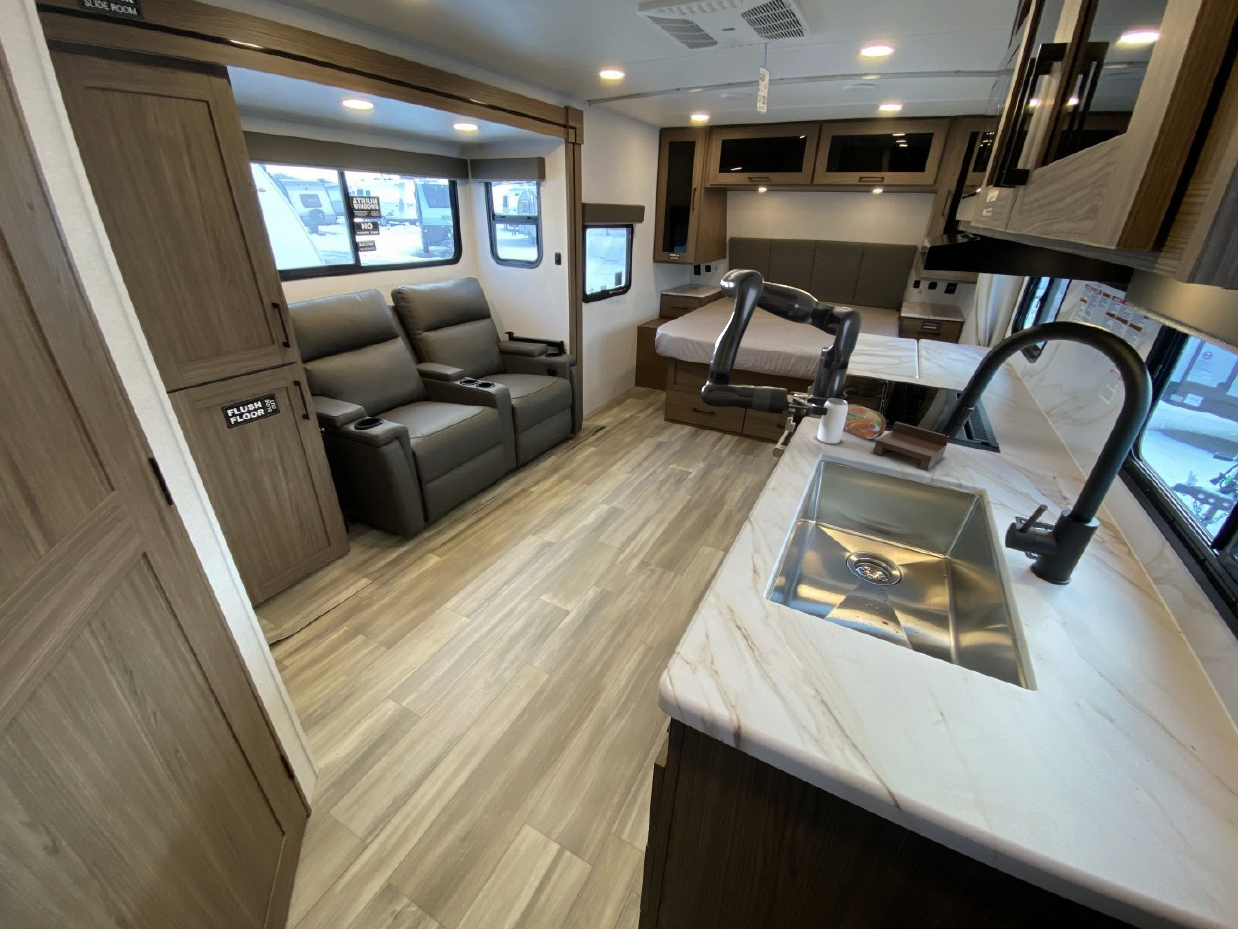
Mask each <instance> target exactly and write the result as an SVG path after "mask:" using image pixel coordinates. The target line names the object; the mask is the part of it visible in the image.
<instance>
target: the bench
mask: <svg viewBox="0 0 1238 929" xmlns="http://www.w3.org/2000/svg"><path fill="white" fill-rule="evenodd" d="M945 435H946V434H944V433H939V432H936V431H934V430H933V431H932V430H929V429H925V428H921V427H918V426H914V425H910V424H906V423H903V422H899V421H894V423H893V426H892V430H891V431H889V432H887V433H886V434H884V435H881V436H880V437H878V438H877V439H876V441H875V445H874V447H873V451H872V454H875V455H877V456H882V455H883V454H885V453H886V452H888V451H889V450H890V451H893V452H897V453H900V454H903V455H907V456H909V457H913V458H917V459H920V460H921V461H920V464H919V467H918V468H919V469H921V470H925V471H929V470H930V469H931V468H932V467H934V465H936V464H937V463H938V462H939V461H941V460H942V459H943V457H944V454H945V452H946V449H947V446H948V443H949V440H950V437H951V436H950V435H948V436H945Z"/></svg>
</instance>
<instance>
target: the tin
mask: <svg viewBox="0 0 1238 929" xmlns="http://www.w3.org/2000/svg"><path fill="white" fill-rule="evenodd" d="M847 405H848V411H847V416H846V420H845V424H844V428H843V431H845V432H848V433H850V434H853V435H856V436H858V437H860V438H863V439H865V440H873V439H878V438H880V437H882V436H883V434H884V433H885V431H886V427H887V422H886V418H885V416H884V415H883V414H882V413H881V412H880V411H876V410H874V409H871V408H868V407H865V406H862V405H859V404H856V403H854V404H852V403H849V404H847Z"/></svg>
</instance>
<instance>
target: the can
mask: <svg viewBox="0 0 1238 929" xmlns="http://www.w3.org/2000/svg"><path fill="white" fill-rule="evenodd" d="M824 407H827V408H828V411H827V415H825V416H824V415H821V417H820V422H819V426H818V431H817V436H816V437H817V439H818V441H820V442H821V443H824V444H827V445H828V444H830V445H836V444H839V443H840V442H841V441H842V438H843V432H844V429H843V428H844V424H845V420H846V416H847V411H848V400H845V399H837V398H829V399H827V402H826V403H825V404H824Z"/></svg>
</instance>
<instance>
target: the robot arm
mask: <svg viewBox="0 0 1238 929" xmlns="http://www.w3.org/2000/svg"><path fill="white" fill-rule="evenodd" d="M764 280H765V279H764V276H763V275H762V274H761V273H760V272H759V271H758V270H754V269H746V268H735V269H732V270H730V271H728V272H726V273H725V274H724V276H723V277H722V279H721V282H720V289H721V293H722V295H723V296H724V298H726V300H728V301H730V302H732V303H735V304H734V307H733V312H732V315H731V317H730V320H729V322H728V323H727V325H726V327H725V328H724V329H723V331H722V332H721V334H720V335H719V337H718V338H717V340H716V342H715V344H714V347H713V351H712V354H711V358H710V363H709V373H708V376H707V380H706V383H705V385H704V386H703V387H702V388H701V391H700V398H701V400H702V402H703V403H704V404H706V405H708V406H711V407H717V408H739V409H743V410H744V409H745V410H752V411H756V412H760V413H761V412H762V413H767V414H769V413H770V414H776V415H783V414H784V413H785V410H787V414H788V415H793V416H794V415H795V416H801V417H810V416H811V415H817V416H822V415H824V416H825V415H827V411H828V408H827V407H824V404H825V403H826V402H827V399H829V398H837V399H842V400H845V399H847V398H848V397H849V395H848V393H847V392H850V391H852V392H853V393H855V392H856V389H854V388H847V389H845V390H844V386H845V382H846V378H847V375H848V374H847V373H848V368H849V365H850V360H851V356H852V354H853V352H854V351H855V349H856V346H857V343H858V338H859V336H860V332H861V328H862V323H863V317H862V313H861V312H860V311H859V310H858V309H855V308H850V307H845V306H839V305H832V304H827V303H822V302H820V301H818V300H817V299H816V298H815V296H813V295H811V294H810V293H809V292H806V291H804V290H801V289H799V288H795V287H792V286H788V285H783V284H779V283H771V282H767V281H764ZM756 308H759V309H760V310H763V311H765V312H767V313H768V314H771V315H773V316H776V317H778V318H781V319H783V320H786V321H789V322H791V323H796V324H801V325H809V326H812V327H814V328H816V329H818V330H820V331H822V332H824V333H826V334H827V335H829V336H833V337H835V338H834V341H833V343H832V344H831V345H826V346H824V347H823V348H822V349H821V352H820V356H819V361H818V365H817V371H816V377H815V381H814V385H813V391H812V393H808V392H799V391H791V392H790V394H788V389H787V388H782V387H774V386H773V387H772V386H764V385H759V386H758V385H756V386H755V385H748V384H738V385H737V384H735V385H732V384H730V382H731V381H730V380H731V374H732V372H733V369H734V366H735V364H736V361H737V357H738V354H739V353H738V352H739V349H740V346H741V343H742V340H743V338H744V335H745V333H746V331H747V328H748V326H749V324H750V322H751V320H752V317H753V315H754V314H755V311H756ZM842 395H844V396H842Z"/></svg>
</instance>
